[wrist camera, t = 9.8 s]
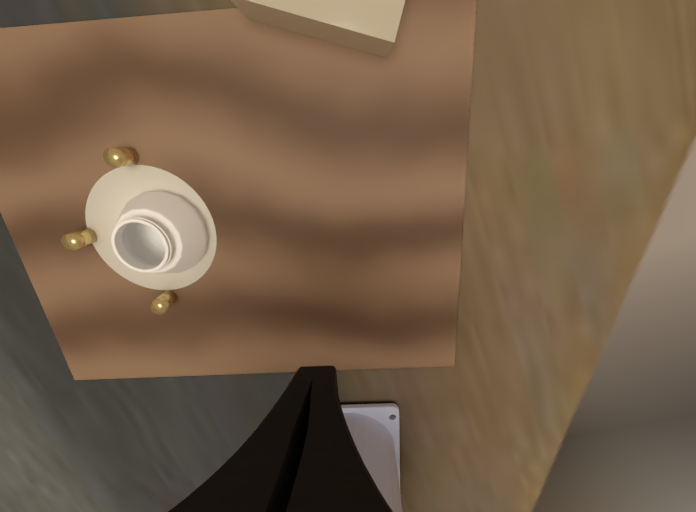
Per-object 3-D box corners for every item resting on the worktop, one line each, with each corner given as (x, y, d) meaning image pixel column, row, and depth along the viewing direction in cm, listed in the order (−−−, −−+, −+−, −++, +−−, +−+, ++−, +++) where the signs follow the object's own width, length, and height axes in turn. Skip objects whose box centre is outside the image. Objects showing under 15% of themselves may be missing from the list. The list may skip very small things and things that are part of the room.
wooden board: (450, 356, 24) (460, 380, 22) (85, 370, 25) (58, 394, 23) (470, -5, 17) (489, -27, 14) (-55, 40, 18) (-117, 26, 15)
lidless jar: (199, 187, 19) (117, 193, 19) (173, 196, 16) (77, 203, 17) (217, 265, 21) (142, 270, 21) (196, 286, 18) (110, 291, 18)
